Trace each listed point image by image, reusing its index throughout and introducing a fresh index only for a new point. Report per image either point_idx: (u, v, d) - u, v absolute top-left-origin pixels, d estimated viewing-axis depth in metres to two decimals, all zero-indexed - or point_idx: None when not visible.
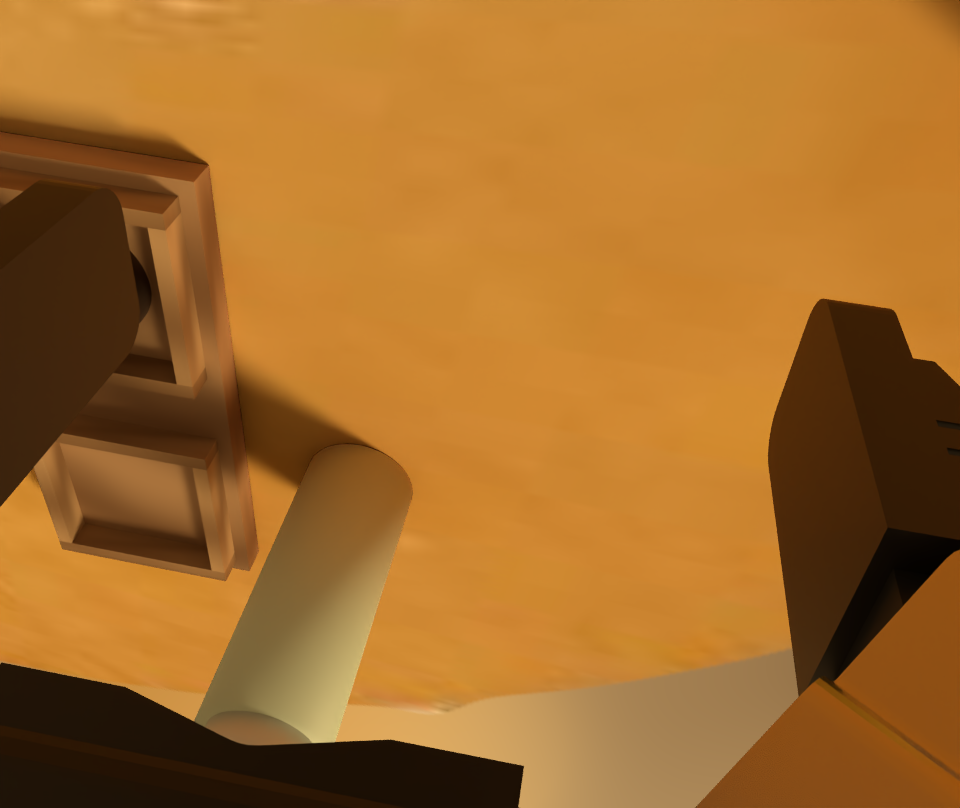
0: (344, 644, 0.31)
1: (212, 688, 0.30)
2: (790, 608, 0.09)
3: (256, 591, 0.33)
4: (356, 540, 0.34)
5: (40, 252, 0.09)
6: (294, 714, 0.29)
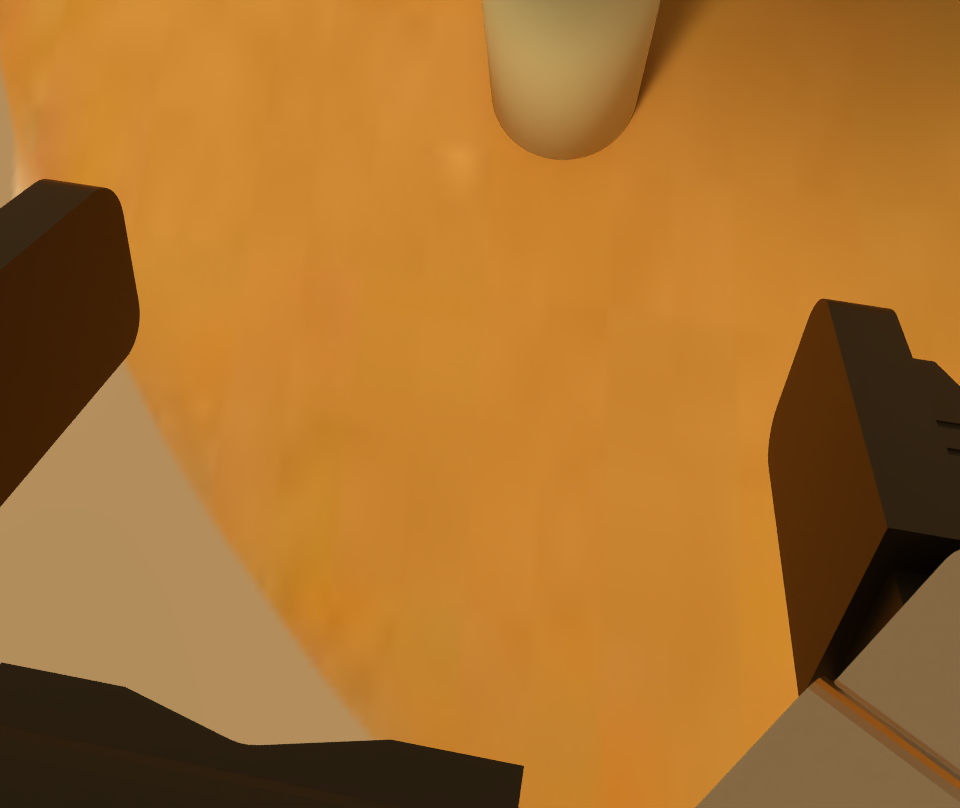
0: None
1: None
2: (790, 608, 0.09)
3: None
4: (646, 46, 0.24)
5: (40, 252, 0.09)
6: None
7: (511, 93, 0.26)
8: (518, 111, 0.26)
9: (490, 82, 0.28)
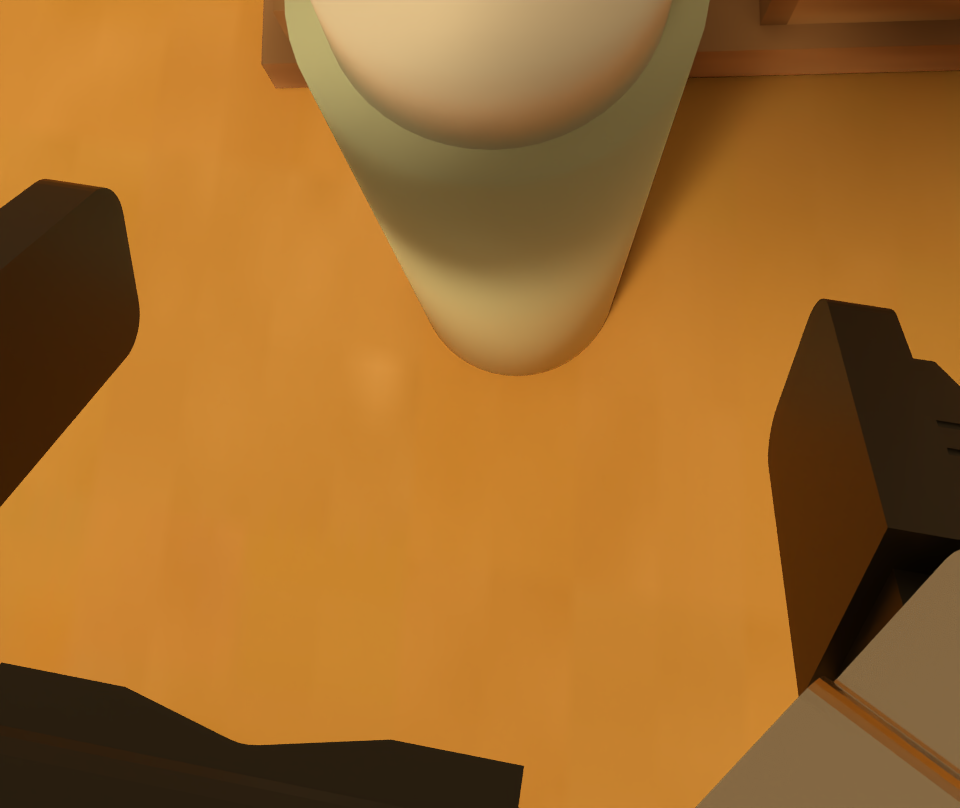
0: (601, 242, 0.13)
1: None
2: (790, 608, 0.09)
3: None
4: (620, 272, 0.17)
5: (40, 252, 0.09)
6: (680, 87, 0.10)
7: (434, 318, 0.18)
8: (447, 334, 0.19)
9: None
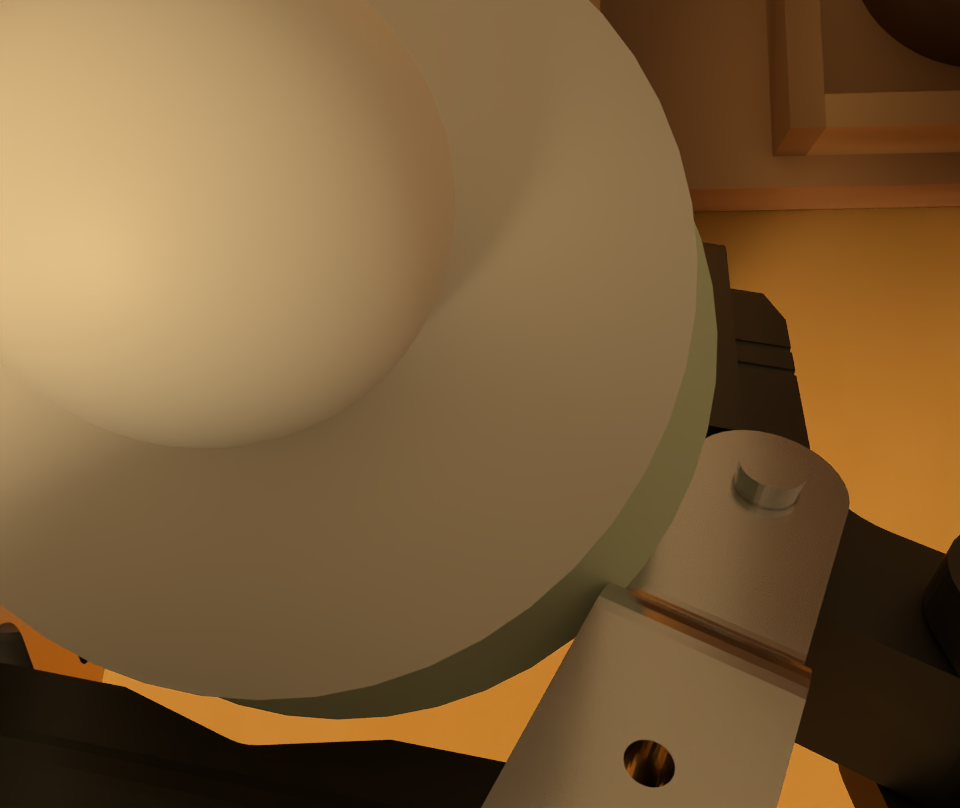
0: None
1: None
2: None
3: None
4: None
5: None
6: (665, 527, 0.06)
7: None
8: None
9: None
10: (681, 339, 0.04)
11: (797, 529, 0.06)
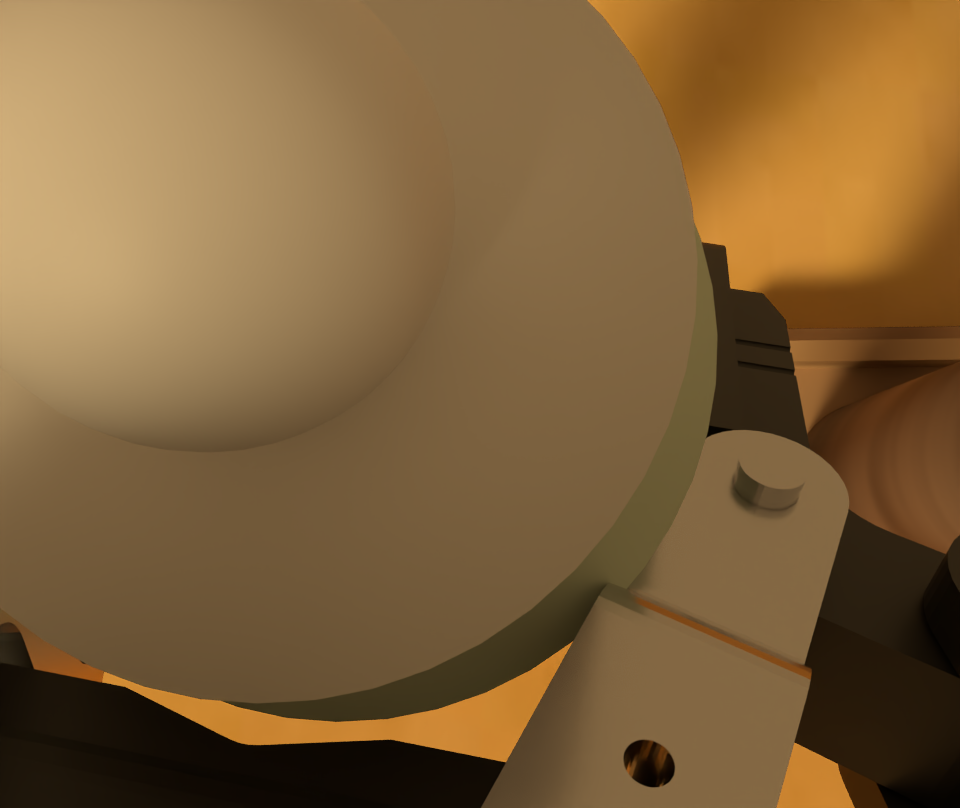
0: None
1: None
2: None
3: None
4: None
5: None
6: (666, 528, 0.06)
7: None
8: None
9: None
10: (682, 341, 0.04)
11: (796, 528, 0.06)
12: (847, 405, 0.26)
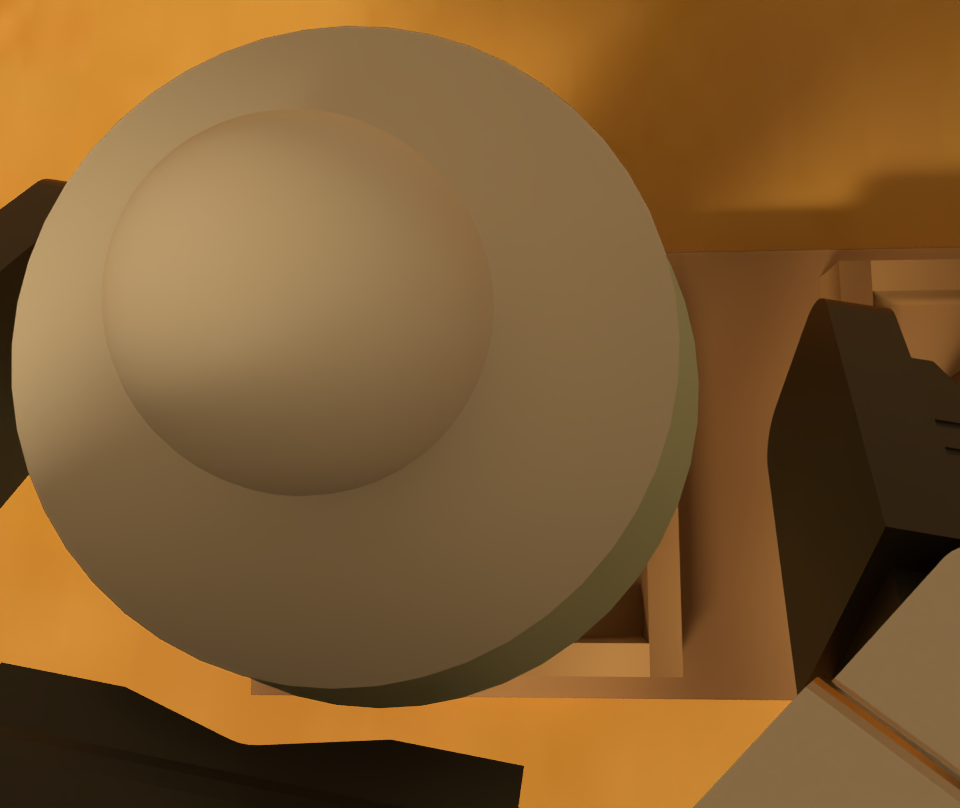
0: None
1: None
2: (789, 607, 0.09)
3: None
4: None
5: None
6: (654, 546, 0.07)
7: None
8: None
9: None
10: (666, 402, 0.05)
11: None
12: None
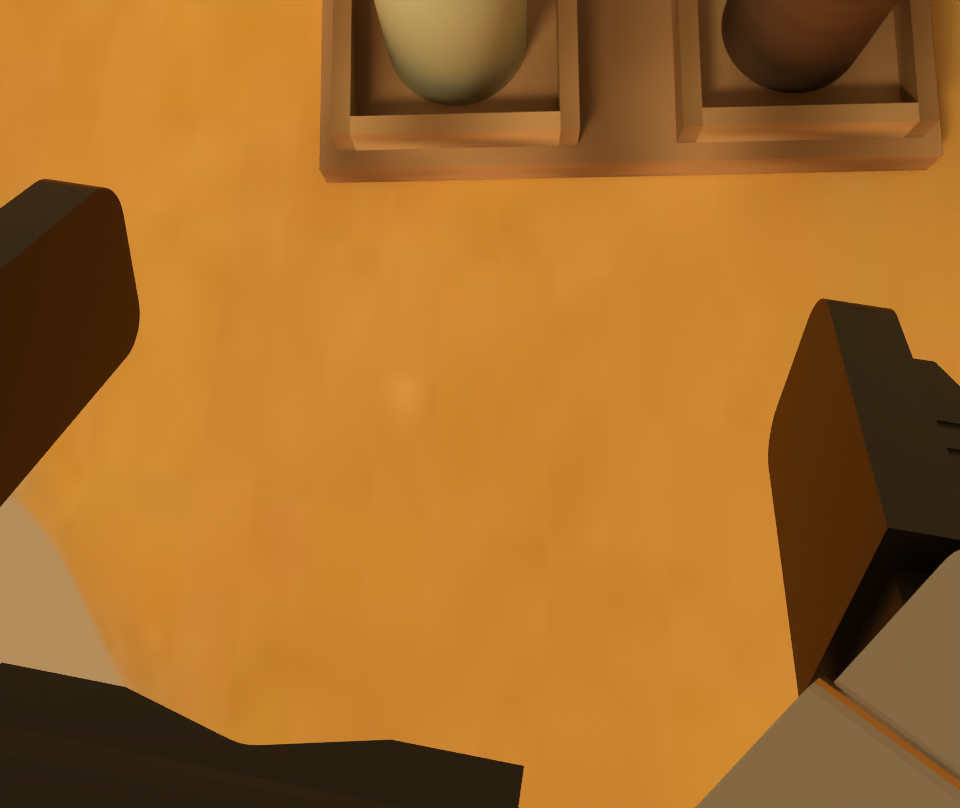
0: None
1: None
2: (790, 608, 0.09)
3: None
4: None
5: (40, 252, 0.09)
6: None
7: (395, 35, 0.27)
8: (404, 54, 0.28)
9: None
10: None
11: None
12: None
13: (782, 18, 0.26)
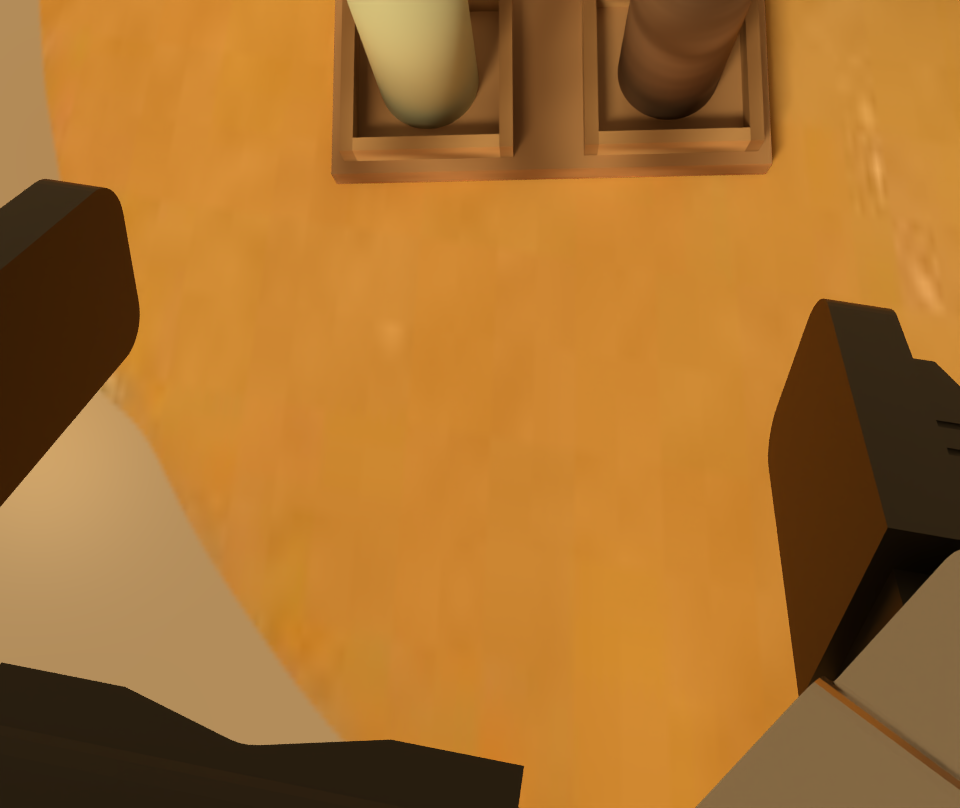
0: (436, 12, 0.33)
1: None
2: (790, 608, 0.09)
3: None
4: (462, 51, 0.38)
5: (40, 252, 0.09)
6: None
7: (382, 82, 0.39)
8: (389, 94, 0.40)
9: None
10: None
11: None
12: None
13: (646, 71, 0.38)
